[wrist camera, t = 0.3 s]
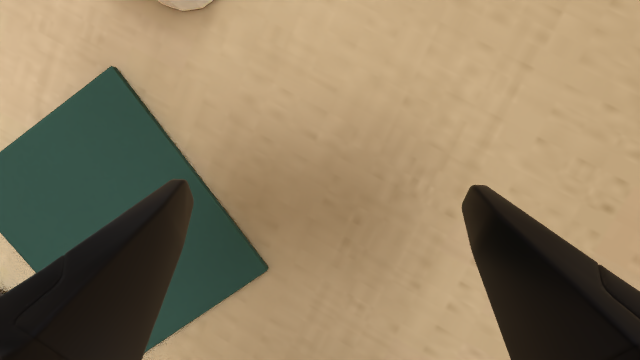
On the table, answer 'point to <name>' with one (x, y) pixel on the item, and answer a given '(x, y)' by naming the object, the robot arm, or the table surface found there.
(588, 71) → the table surface
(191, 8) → the white cup
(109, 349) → the robot arm
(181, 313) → the desk mat
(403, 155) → the table surface
